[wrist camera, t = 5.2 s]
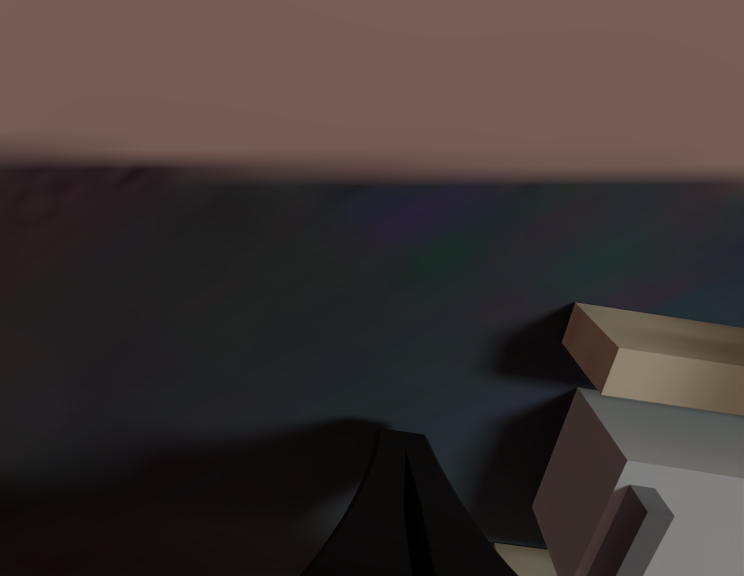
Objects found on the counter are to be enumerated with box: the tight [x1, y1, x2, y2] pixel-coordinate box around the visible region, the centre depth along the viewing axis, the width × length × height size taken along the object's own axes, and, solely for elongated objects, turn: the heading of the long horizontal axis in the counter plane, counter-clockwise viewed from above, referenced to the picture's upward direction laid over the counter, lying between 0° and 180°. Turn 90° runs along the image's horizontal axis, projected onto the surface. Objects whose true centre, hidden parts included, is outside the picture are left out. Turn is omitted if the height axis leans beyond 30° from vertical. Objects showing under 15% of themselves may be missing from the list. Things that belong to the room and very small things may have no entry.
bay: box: [493, 303, 744, 576], centre depth 13 cm, size 9×10×2 cm
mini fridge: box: [532, 388, 744, 576], centre depth 13 cm, size 6×4×4 cm
